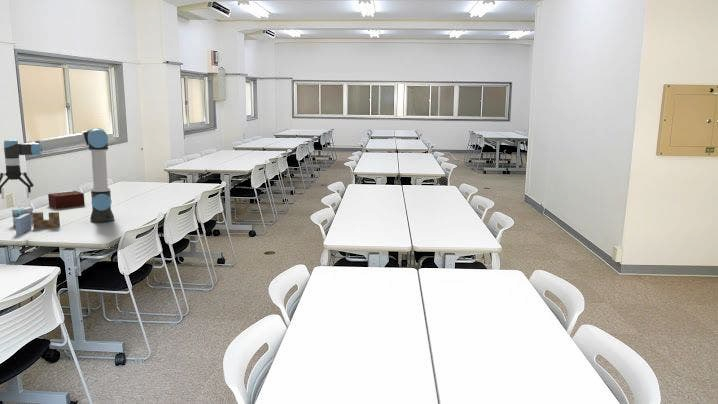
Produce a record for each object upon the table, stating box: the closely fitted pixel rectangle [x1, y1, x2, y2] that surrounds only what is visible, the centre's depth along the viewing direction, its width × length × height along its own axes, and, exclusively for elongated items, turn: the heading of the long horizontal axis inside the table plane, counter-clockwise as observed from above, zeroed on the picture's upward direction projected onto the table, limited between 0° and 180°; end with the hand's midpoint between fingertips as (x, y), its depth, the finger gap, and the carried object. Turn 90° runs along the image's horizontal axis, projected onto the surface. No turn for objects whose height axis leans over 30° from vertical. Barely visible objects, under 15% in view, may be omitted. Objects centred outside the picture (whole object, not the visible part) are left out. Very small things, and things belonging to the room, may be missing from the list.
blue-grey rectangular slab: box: [14, 214, 32, 235], centre depth 334 cm, size 14×3×10 cm, turn 9°
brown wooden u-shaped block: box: [32, 211, 61, 229], centre depth 346 cm, size 15×3×10 cm, turn 99°
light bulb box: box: [11, 206, 34, 226], centre depth 352 cm, size 11×7×11 cm, turn 168°
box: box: [47, 190, 86, 210], centre depth 413 cm, size 21×16×10 cm
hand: (15, 198), depth 332 cm, fingers open, 13 cm apart
